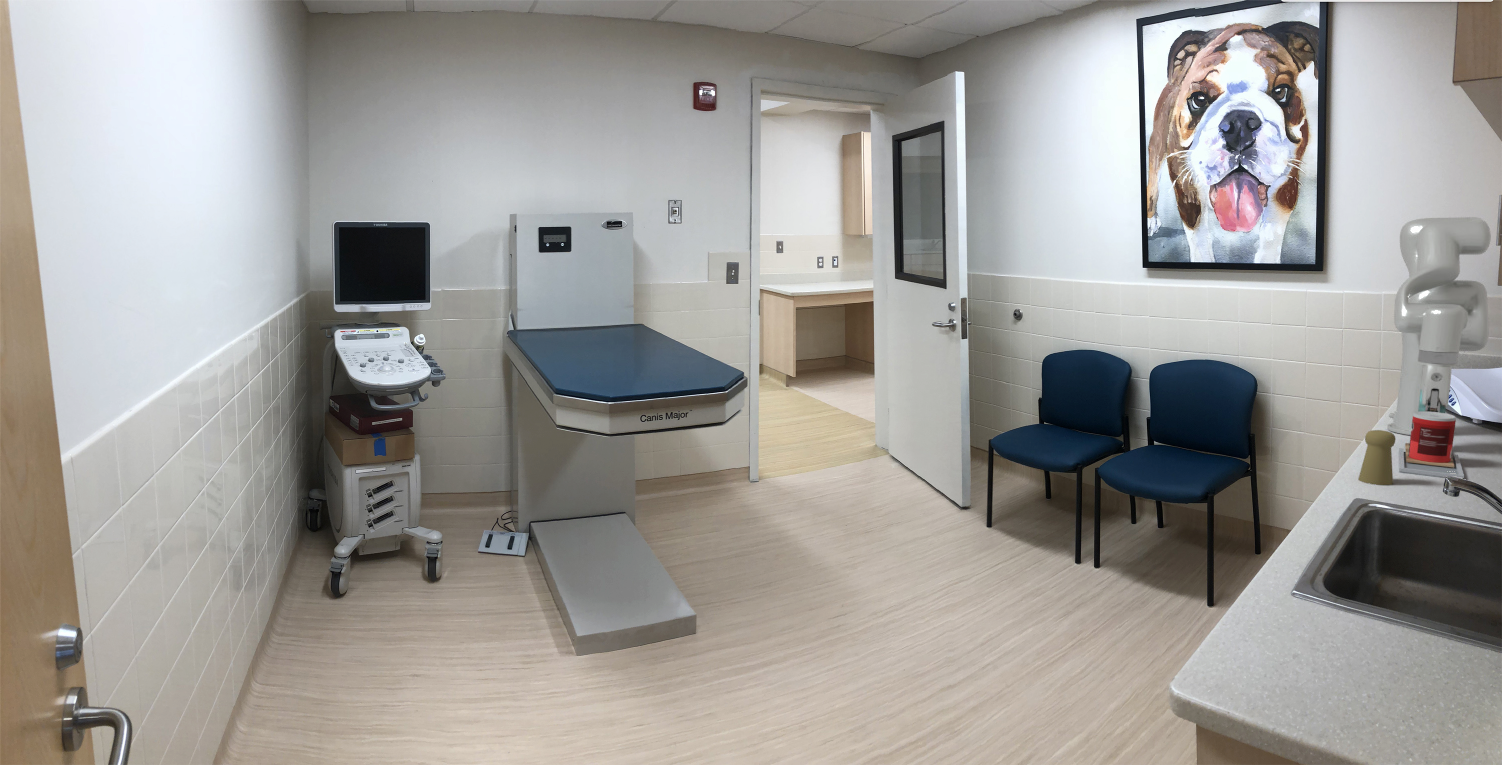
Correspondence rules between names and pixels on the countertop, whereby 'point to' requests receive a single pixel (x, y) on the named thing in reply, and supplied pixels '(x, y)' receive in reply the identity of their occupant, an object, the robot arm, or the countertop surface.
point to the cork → (1378, 458)
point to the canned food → (1432, 437)
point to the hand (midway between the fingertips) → (1428, 431)
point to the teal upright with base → (1408, 459)
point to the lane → (1429, 467)
